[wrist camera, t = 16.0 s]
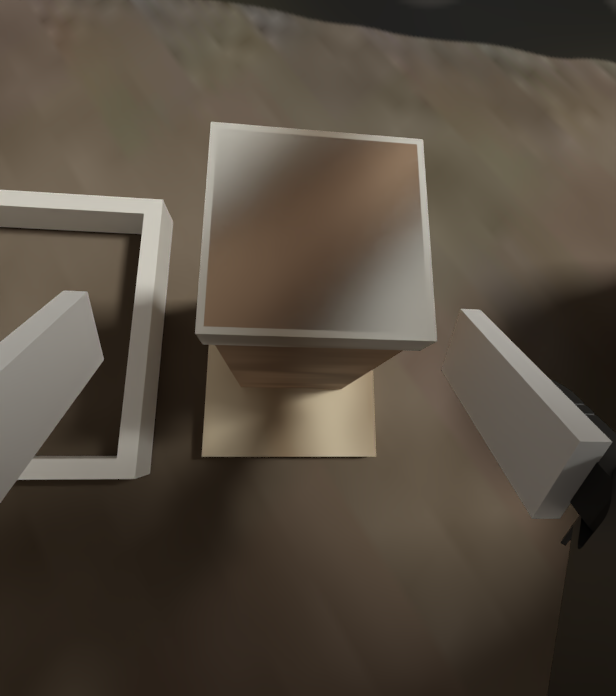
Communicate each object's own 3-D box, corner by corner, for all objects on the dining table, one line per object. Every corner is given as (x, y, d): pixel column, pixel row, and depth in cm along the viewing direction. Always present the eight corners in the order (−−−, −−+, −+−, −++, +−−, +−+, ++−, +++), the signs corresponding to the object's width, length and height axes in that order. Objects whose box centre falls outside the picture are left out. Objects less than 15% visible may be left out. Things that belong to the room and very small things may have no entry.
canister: (343, 292, 24) (422, 139, 12) (344, 392, 23) (437, 341, 10) (242, 288, 24) (210, 121, 11) (237, 390, 22) (194, 333, 10)
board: (365, 245, 26) (368, 238, 25) (371, 455, 23) (376, 456, 22) (218, 238, 25) (216, 230, 24) (204, 455, 22) (201, 456, 21)
